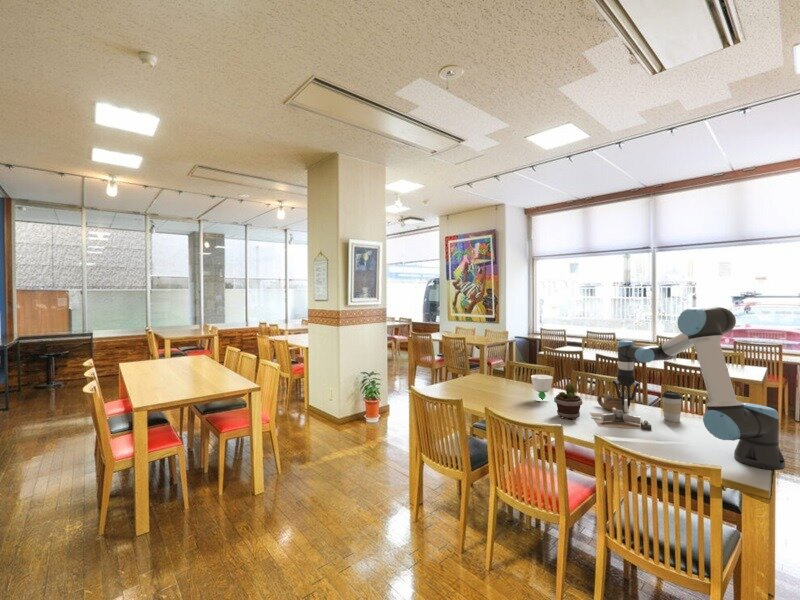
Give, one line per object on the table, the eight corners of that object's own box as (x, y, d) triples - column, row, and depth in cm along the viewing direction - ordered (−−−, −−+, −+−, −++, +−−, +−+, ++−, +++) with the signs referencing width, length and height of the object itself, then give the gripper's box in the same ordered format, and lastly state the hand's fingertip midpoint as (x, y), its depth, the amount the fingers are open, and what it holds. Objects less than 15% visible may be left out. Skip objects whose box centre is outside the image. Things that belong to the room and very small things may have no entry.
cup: (526, 398, 254) (526, 375, 254) (543, 396, 258) (543, 373, 258) (540, 404, 241) (539, 379, 241) (557, 402, 245) (557, 377, 245)
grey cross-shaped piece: (641, 425, 194) (641, 414, 194) (601, 422, 200) (601, 412, 200) (632, 416, 210) (632, 406, 210) (595, 413, 215) (595, 404, 215)
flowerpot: (575, 423, 205) (575, 386, 205) (549, 416, 217) (548, 381, 216) (587, 417, 214) (587, 382, 214) (561, 411, 226) (561, 377, 226)
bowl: (590, 408, 225) (592, 391, 227) (600, 410, 234) (601, 394, 236) (623, 415, 212) (624, 396, 214) (632, 416, 220) (633, 399, 222)
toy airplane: (652, 433, 188) (651, 421, 188) (596, 429, 195) (596, 418, 195) (637, 418, 211) (636, 407, 211) (587, 415, 218) (587, 405, 218)
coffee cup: (685, 422, 201) (685, 394, 201) (666, 422, 203) (666, 394, 203) (677, 417, 210) (676, 390, 210) (658, 416, 212) (658, 390, 212)
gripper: (640, 368, 206) (640, 411, 207) (613, 366, 214) (613, 407, 214) (639, 371, 200) (639, 415, 201) (611, 368, 208) (611, 411, 208)
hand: (626, 411), depth 207 cm, fingers closed
